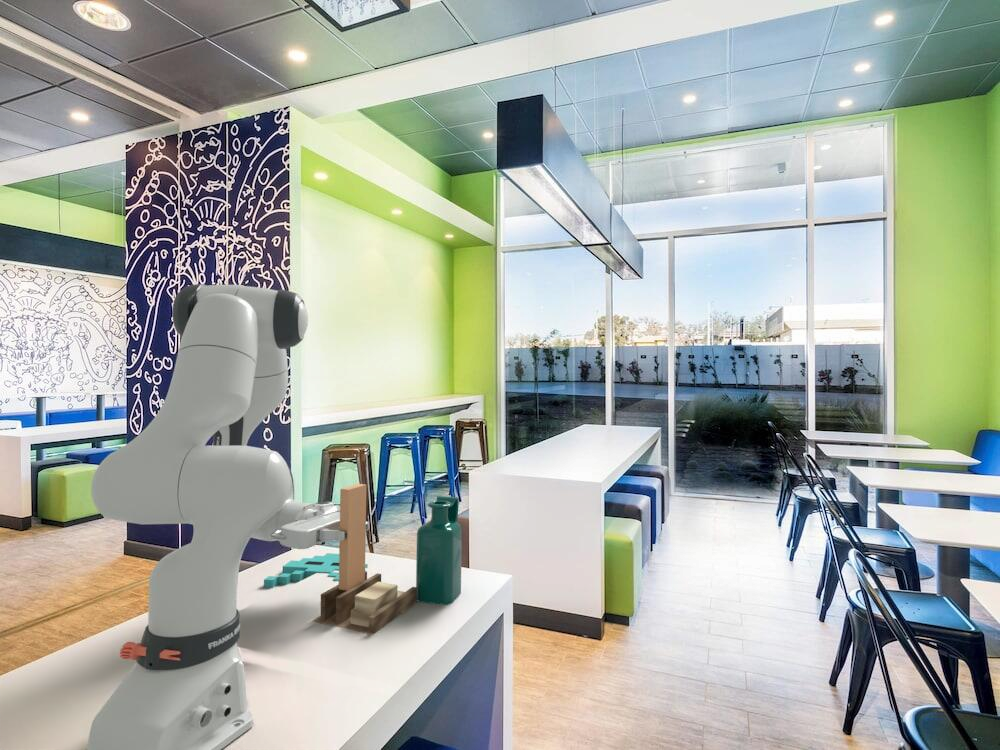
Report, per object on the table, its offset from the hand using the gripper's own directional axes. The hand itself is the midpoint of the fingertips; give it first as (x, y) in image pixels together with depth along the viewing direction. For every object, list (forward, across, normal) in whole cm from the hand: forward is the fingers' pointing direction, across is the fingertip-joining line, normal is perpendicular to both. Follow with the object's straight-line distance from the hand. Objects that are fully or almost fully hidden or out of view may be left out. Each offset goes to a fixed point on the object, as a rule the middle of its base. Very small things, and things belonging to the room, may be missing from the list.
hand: (356, 531), depth 114 cm
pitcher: (+12, +14, +18) cm, 25 cm away
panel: (-1, 0, +11) cm, 11 cm away
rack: (+2, 0, +17) cm, 18 cm away
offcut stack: (+5, 0, +16) cm, 17 cm away
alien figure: (-22, +17, +18) cm, 33 cm away
